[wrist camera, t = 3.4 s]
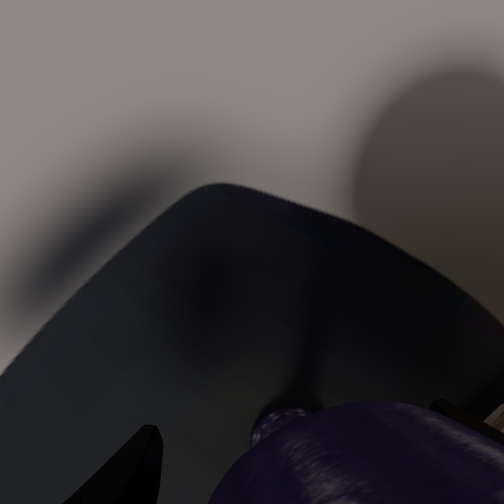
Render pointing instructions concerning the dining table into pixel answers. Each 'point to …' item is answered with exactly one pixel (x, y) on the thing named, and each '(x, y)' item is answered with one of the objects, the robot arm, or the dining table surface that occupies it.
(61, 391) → the dining table surface
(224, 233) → the dining table surface
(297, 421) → the toy lamp
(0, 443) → the dining table surface
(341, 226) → the dining table surface
